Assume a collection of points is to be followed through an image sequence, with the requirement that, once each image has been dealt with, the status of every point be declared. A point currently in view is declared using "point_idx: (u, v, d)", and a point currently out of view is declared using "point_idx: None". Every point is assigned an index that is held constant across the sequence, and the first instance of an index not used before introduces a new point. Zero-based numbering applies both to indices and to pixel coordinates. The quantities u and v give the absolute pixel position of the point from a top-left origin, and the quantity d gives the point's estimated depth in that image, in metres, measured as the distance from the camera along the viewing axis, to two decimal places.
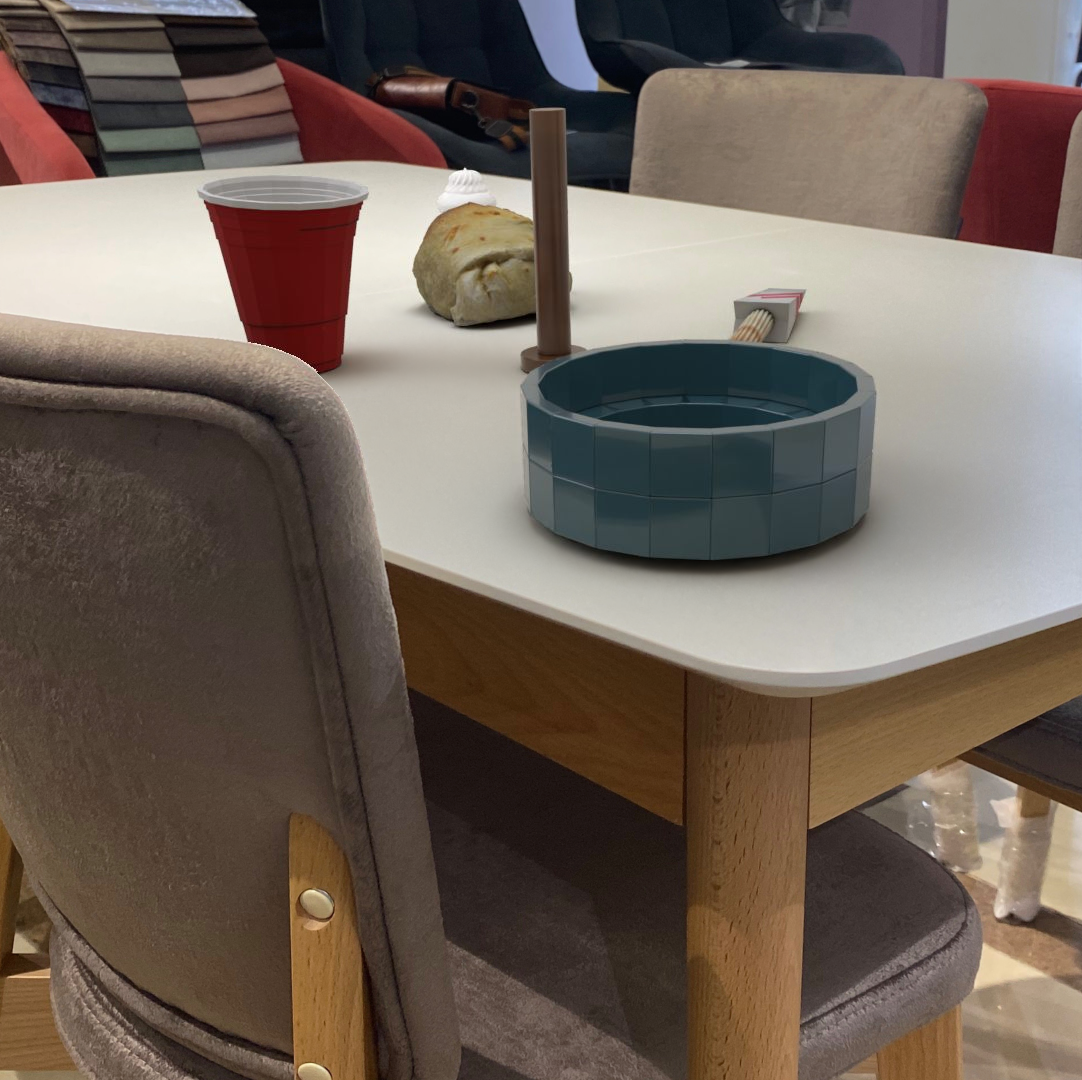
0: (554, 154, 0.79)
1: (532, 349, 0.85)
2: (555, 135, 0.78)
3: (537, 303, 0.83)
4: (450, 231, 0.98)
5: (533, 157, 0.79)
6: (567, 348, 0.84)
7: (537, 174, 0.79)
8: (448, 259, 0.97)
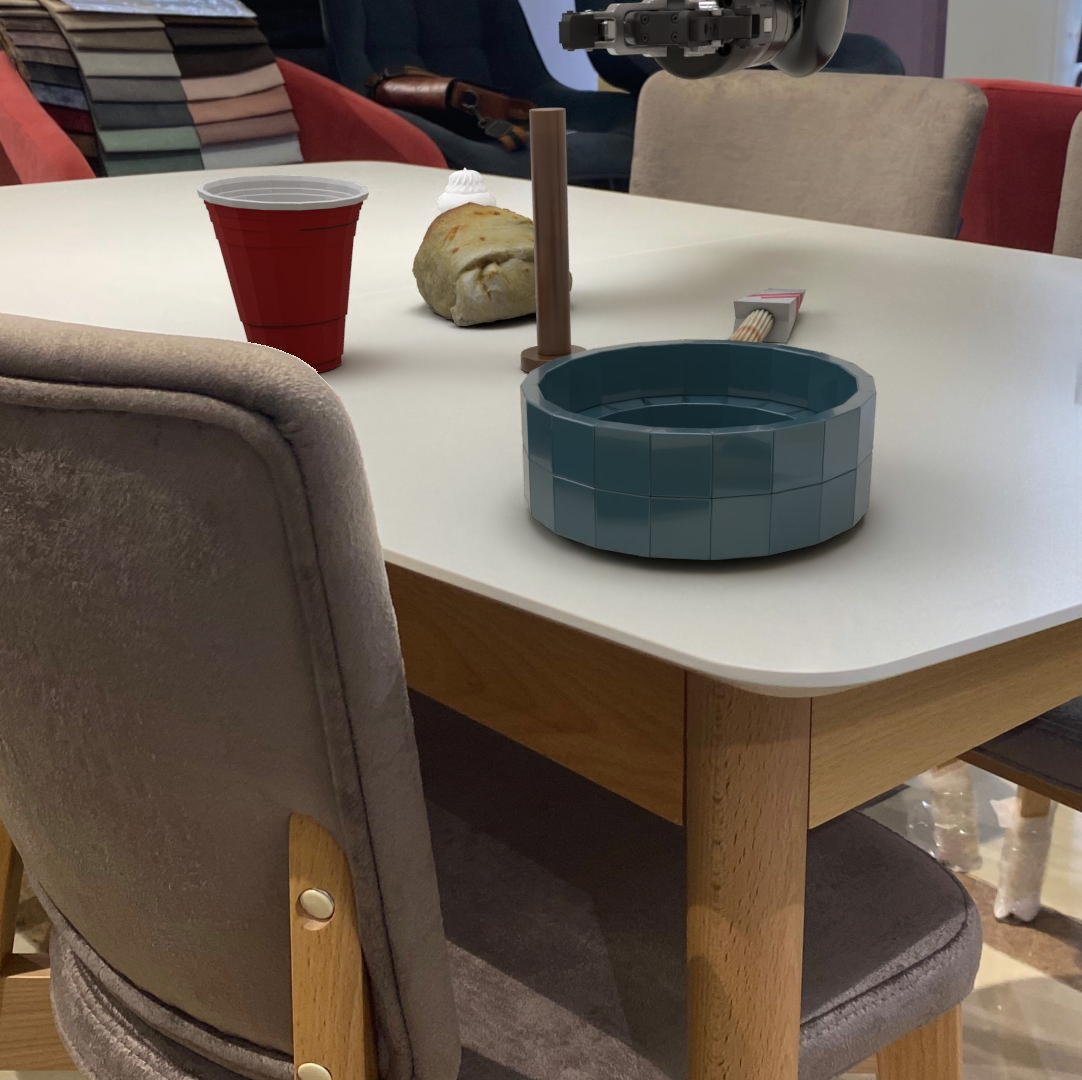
0: (554, 154, 0.79)
1: (532, 349, 0.85)
2: (555, 135, 0.78)
3: (537, 303, 0.83)
4: (450, 231, 0.98)
5: (533, 157, 0.79)
6: (567, 348, 0.84)
7: (537, 174, 0.79)
8: (448, 259, 0.97)
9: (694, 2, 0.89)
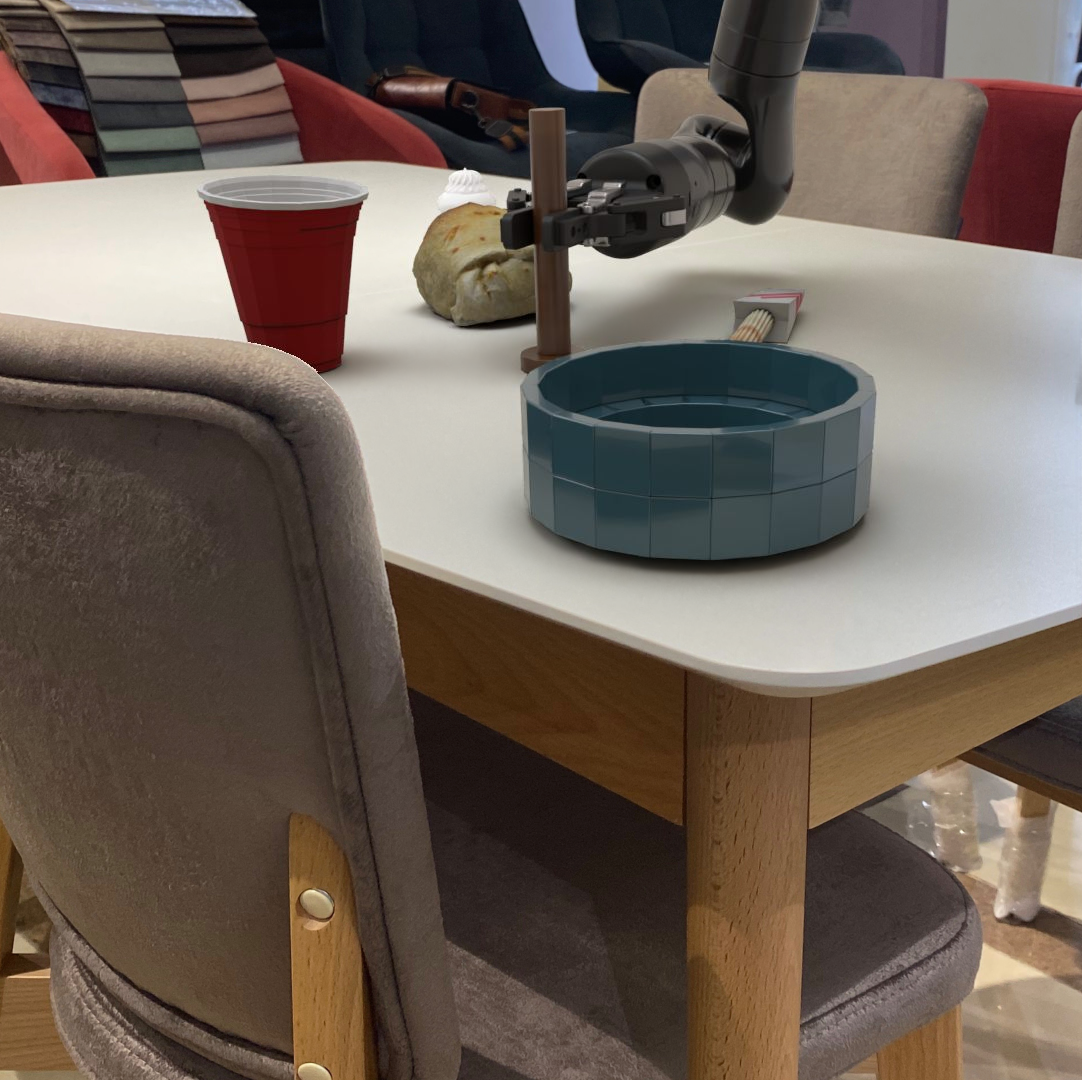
0: (554, 154, 0.79)
1: (532, 349, 0.85)
2: (554, 135, 0.78)
3: (537, 303, 0.83)
4: (450, 231, 0.98)
5: (533, 157, 0.79)
6: (567, 348, 0.84)
7: (537, 174, 0.79)
8: (448, 259, 0.97)
9: None
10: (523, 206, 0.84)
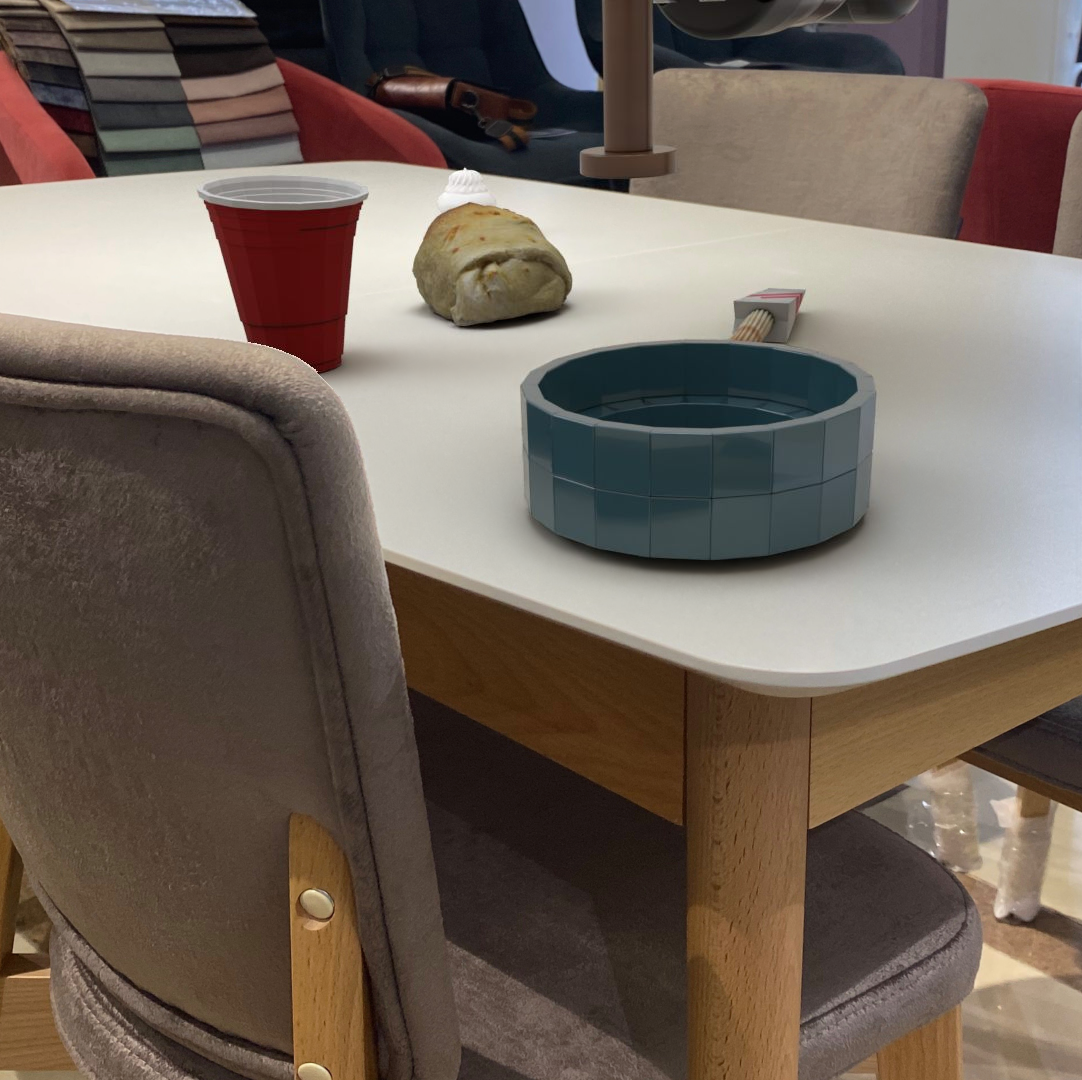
0: None
1: (596, 149, 0.59)
2: None
3: (606, 73, 0.57)
4: (450, 231, 0.98)
5: None
6: (648, 142, 0.58)
7: None
8: (448, 259, 0.97)
9: None
10: None
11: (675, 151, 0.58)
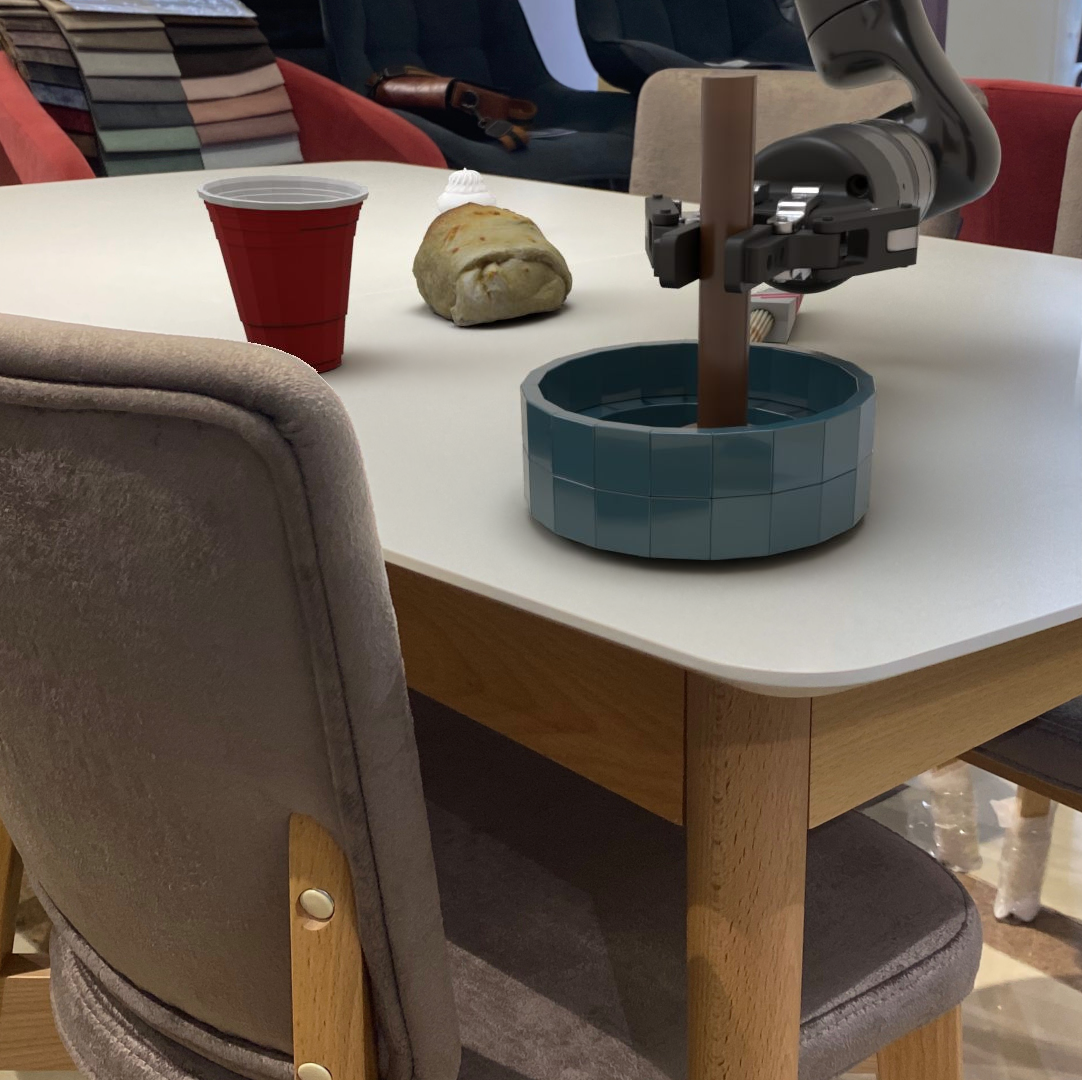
0: (741, 145, 0.52)
1: None
2: (743, 115, 0.51)
3: (702, 366, 0.56)
4: (450, 231, 0.98)
5: (706, 149, 0.52)
6: None
7: (712, 174, 0.52)
8: (448, 259, 0.97)
9: None
10: (677, 221, 0.57)
11: None
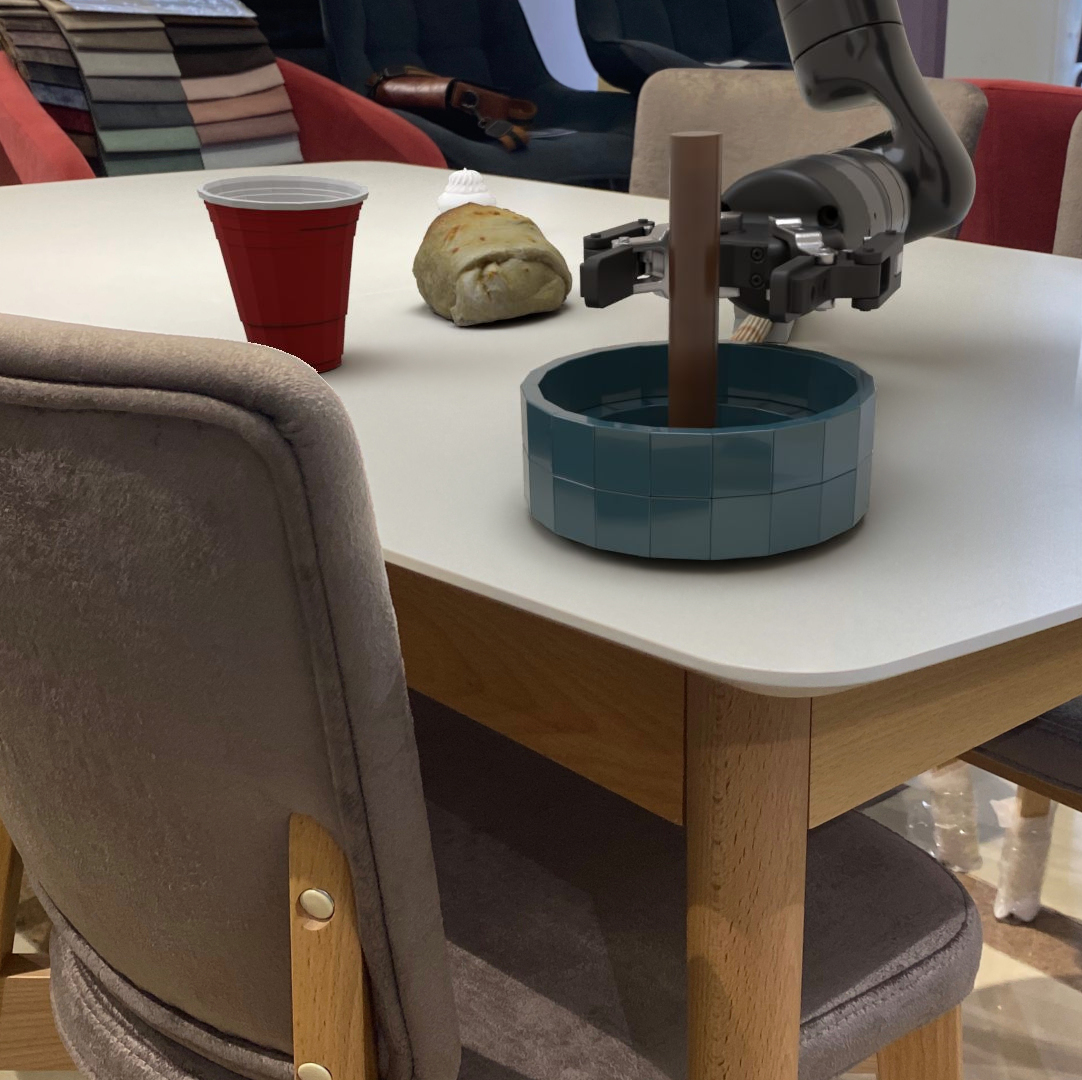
0: (706, 199, 0.54)
1: None
2: (708, 171, 0.54)
3: (671, 408, 0.58)
4: (450, 231, 0.98)
5: (674, 203, 0.55)
6: None
7: (680, 227, 0.55)
8: (448, 259, 0.97)
9: (787, 231, 0.58)
10: (606, 245, 0.61)
11: None
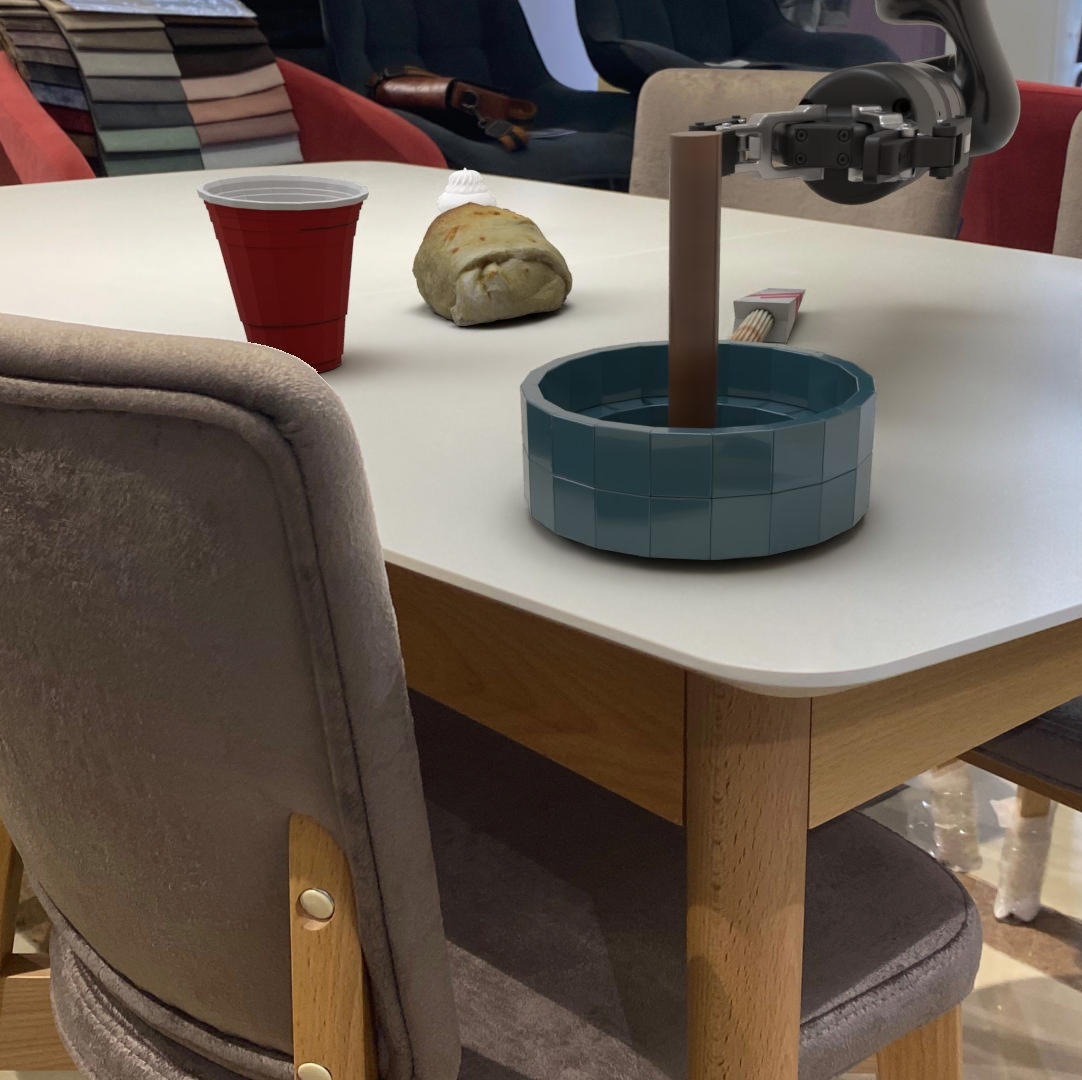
0: (706, 199, 0.54)
1: None
2: (708, 171, 0.54)
3: (671, 408, 0.58)
4: (450, 231, 0.98)
5: (674, 203, 0.55)
6: None
7: (680, 227, 0.55)
8: (448, 259, 0.97)
9: (871, 115, 0.67)
10: None
11: None
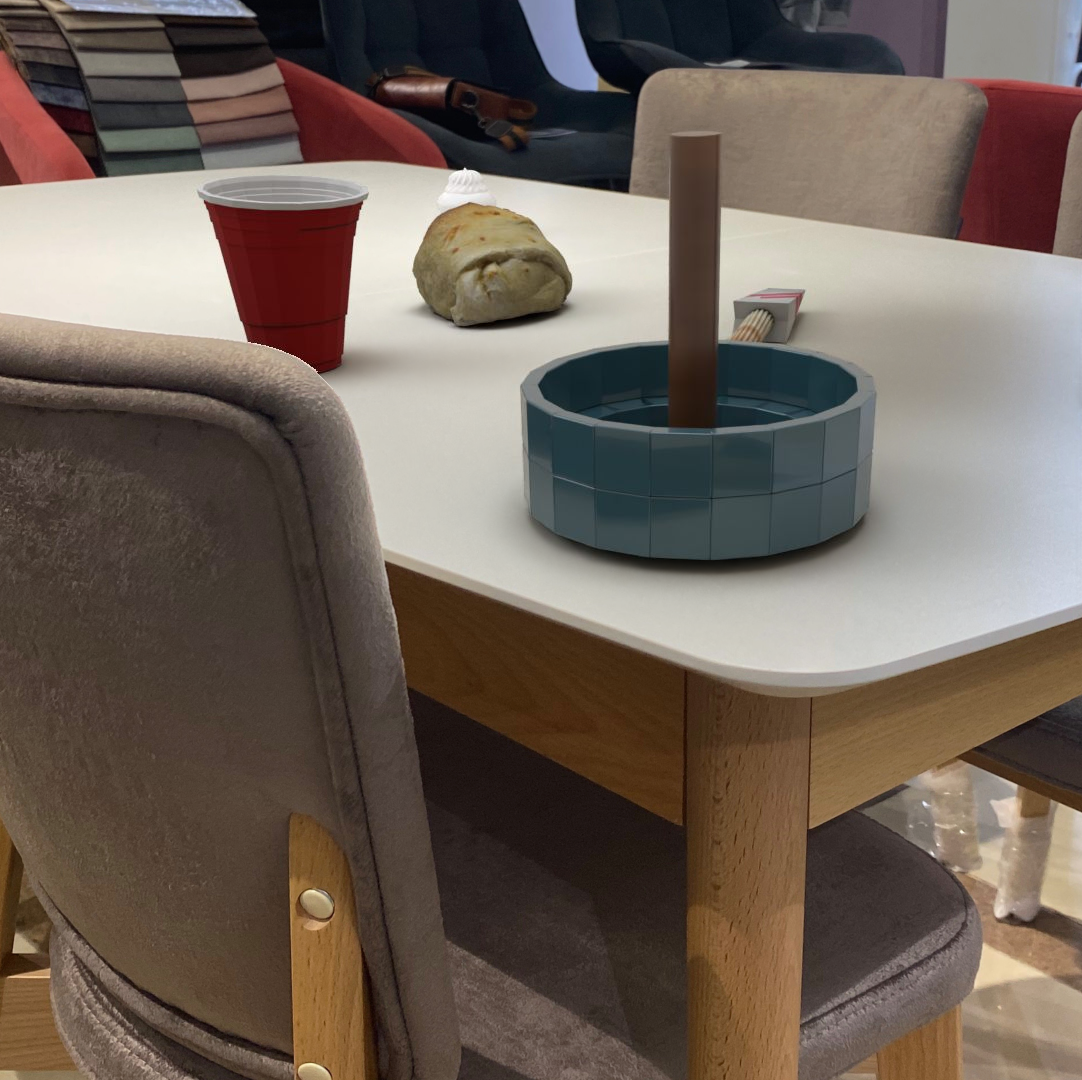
0: (706, 199, 0.54)
1: None
2: (708, 171, 0.54)
3: (671, 408, 0.58)
4: (450, 231, 0.98)
5: (674, 203, 0.55)
6: None
7: (680, 227, 0.55)
8: (448, 259, 0.97)
9: None
10: None
11: None
